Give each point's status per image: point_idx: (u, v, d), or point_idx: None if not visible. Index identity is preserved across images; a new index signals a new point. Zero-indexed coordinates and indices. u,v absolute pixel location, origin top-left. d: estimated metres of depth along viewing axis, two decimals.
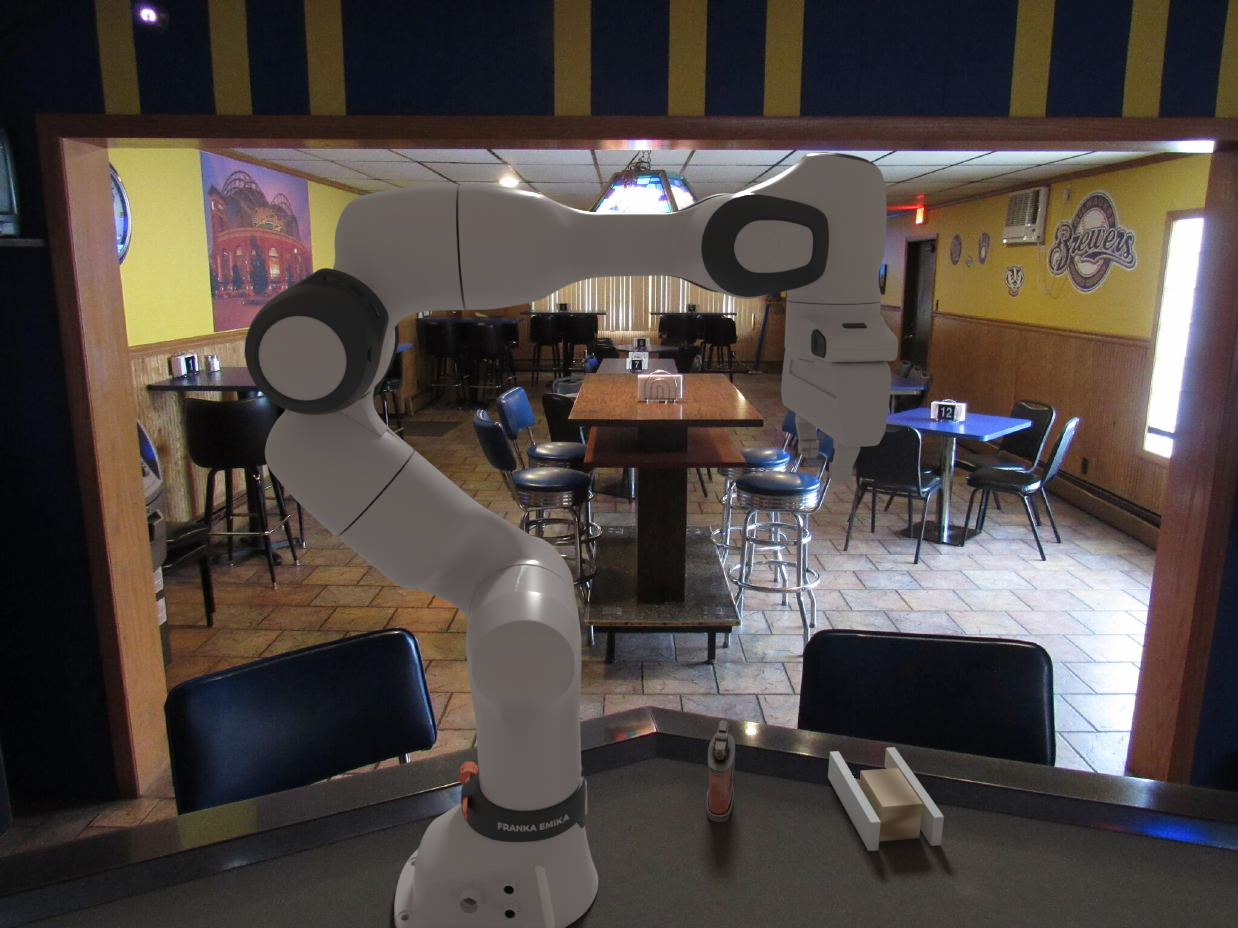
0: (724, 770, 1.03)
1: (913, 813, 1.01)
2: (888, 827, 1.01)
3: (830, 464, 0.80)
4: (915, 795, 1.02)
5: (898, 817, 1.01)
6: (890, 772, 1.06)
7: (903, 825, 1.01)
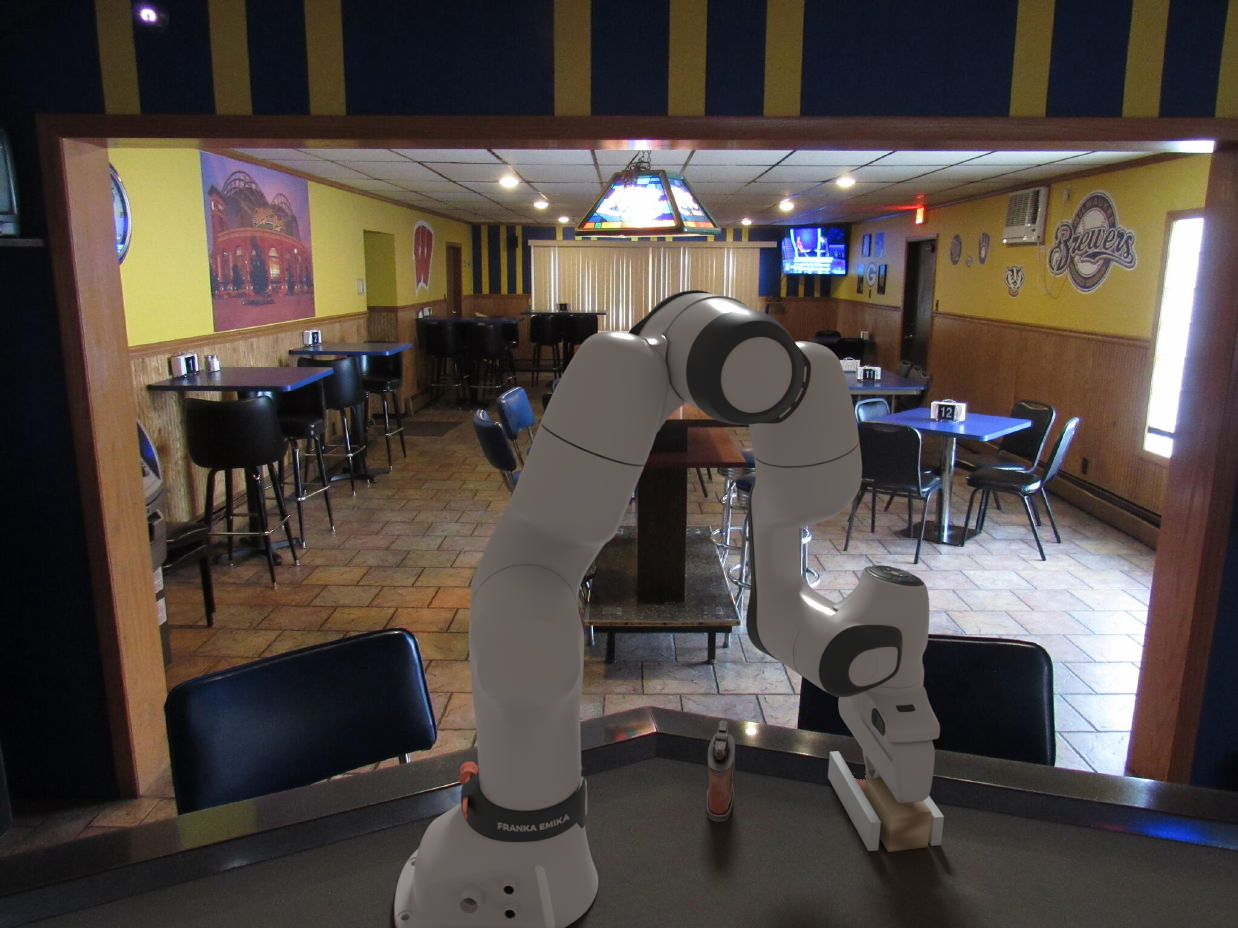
0: (724, 770, 1.03)
1: (921, 821, 0.99)
2: (897, 836, 0.99)
3: (871, 776, 1.07)
4: (923, 803, 1.01)
5: (907, 826, 0.99)
6: None
7: (912, 833, 1.00)
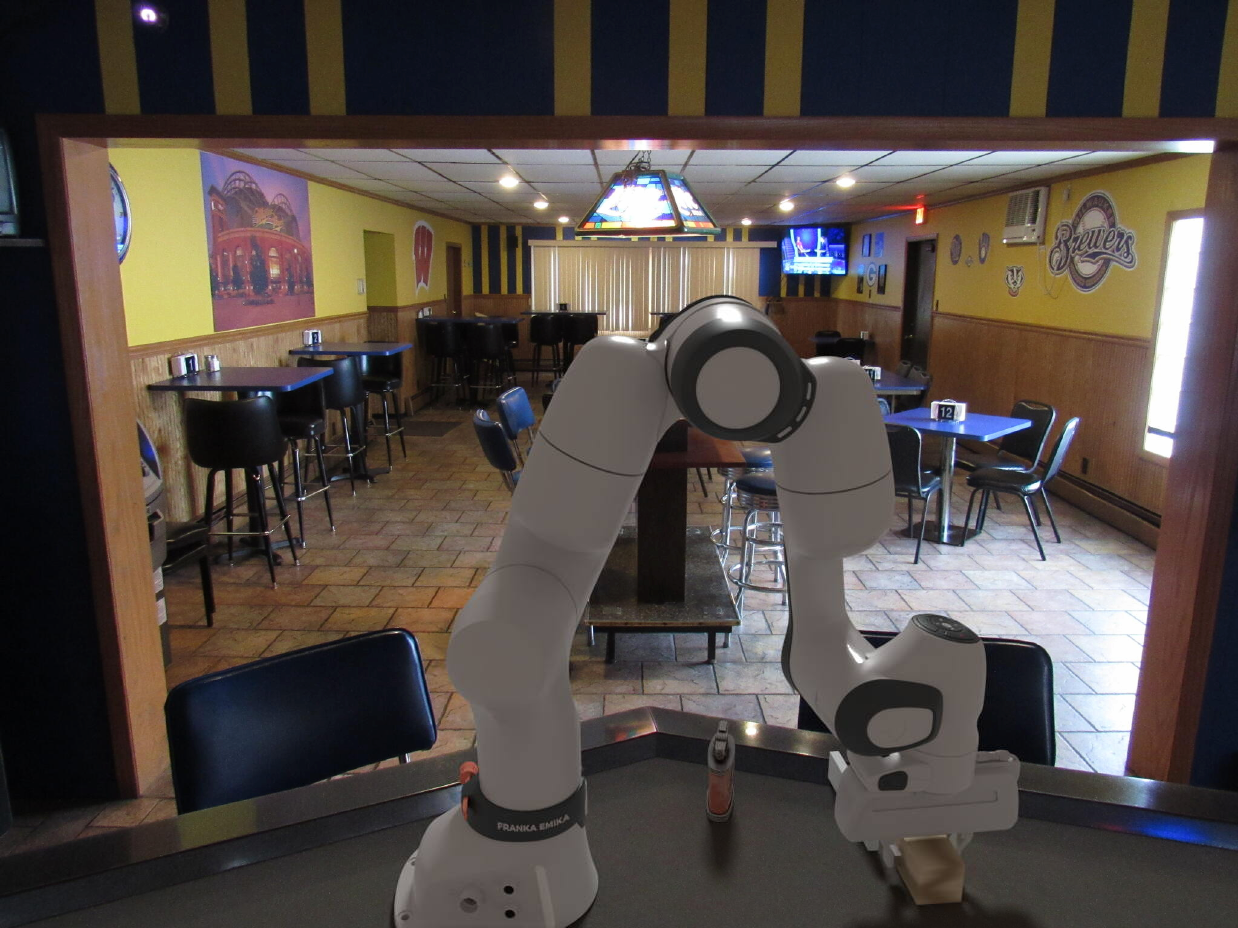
0: (724, 770, 1.03)
1: (954, 874, 0.91)
2: (926, 890, 0.92)
3: None
4: (957, 854, 0.93)
5: (938, 879, 0.91)
6: None
7: (943, 887, 0.92)
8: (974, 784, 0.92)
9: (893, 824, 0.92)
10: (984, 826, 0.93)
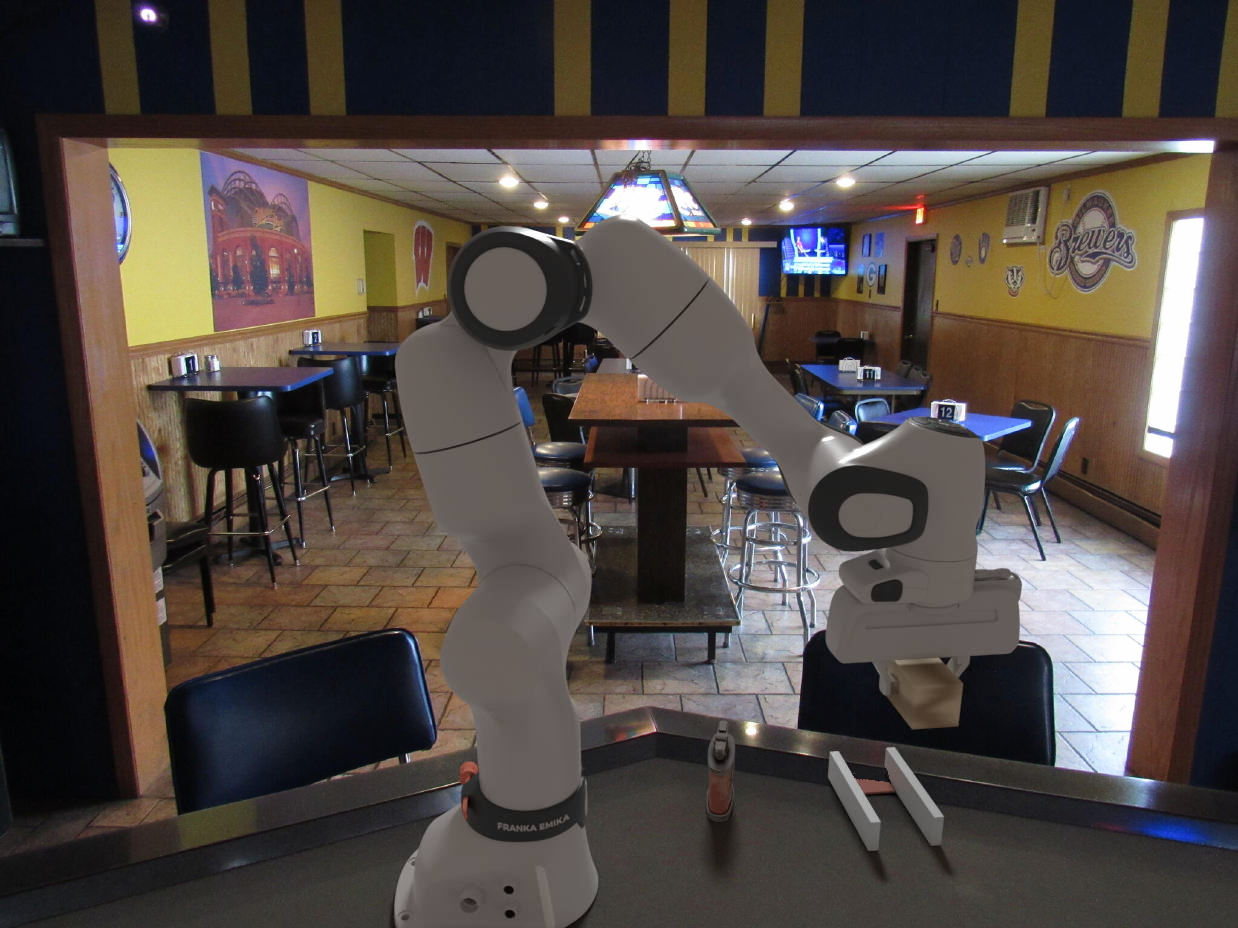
0: (724, 770, 1.03)
1: (951, 694, 0.86)
2: (922, 711, 0.86)
3: (889, 674, 0.91)
4: (953, 675, 0.87)
5: (934, 699, 0.86)
6: None
7: (940, 709, 0.87)
8: (974, 601, 0.87)
9: (887, 643, 0.87)
10: (983, 648, 0.88)
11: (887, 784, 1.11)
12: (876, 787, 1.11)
